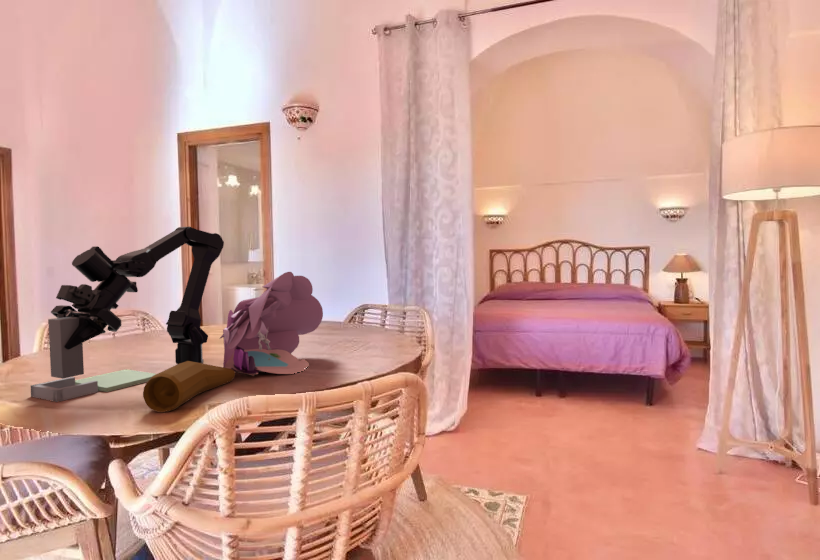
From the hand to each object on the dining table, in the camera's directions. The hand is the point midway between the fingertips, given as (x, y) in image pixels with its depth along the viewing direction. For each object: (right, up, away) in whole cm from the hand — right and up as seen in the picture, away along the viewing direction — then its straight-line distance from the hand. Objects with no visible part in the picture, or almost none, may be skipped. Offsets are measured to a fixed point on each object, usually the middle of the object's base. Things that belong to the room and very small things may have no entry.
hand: (59, 347), depth 109 cm
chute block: (+1, -7, +2) cm, 7 cm away
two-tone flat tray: (+4, -10, +8) cm, 13 cm away
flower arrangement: (+41, -10, +26) cm, 49 cm away
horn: (+30, -11, -1) cm, 32 cm away
